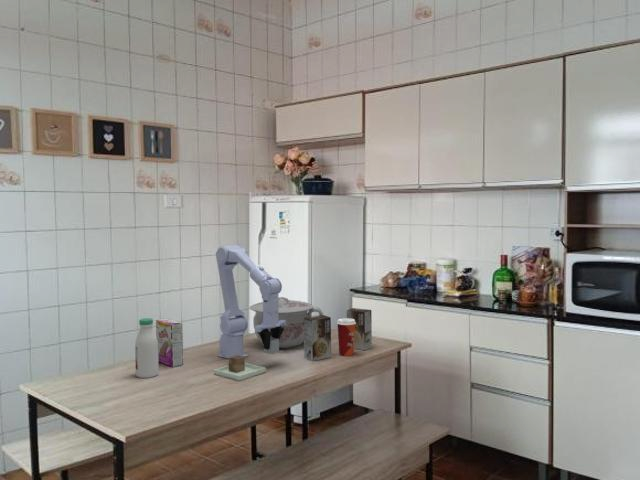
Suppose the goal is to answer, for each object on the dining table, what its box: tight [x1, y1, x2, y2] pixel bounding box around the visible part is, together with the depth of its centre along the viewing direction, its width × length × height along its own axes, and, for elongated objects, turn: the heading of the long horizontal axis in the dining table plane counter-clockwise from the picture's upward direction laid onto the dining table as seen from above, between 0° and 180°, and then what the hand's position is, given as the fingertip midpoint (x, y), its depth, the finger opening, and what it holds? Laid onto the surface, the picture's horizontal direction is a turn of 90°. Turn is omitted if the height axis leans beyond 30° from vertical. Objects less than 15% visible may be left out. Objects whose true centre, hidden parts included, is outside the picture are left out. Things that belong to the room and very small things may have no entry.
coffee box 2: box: [346, 307, 373, 351], centre depth 238 cm, size 9×6×16 cm
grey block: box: [263, 337, 280, 355], centre depth 210 cm, size 4×4×5 cm
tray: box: [213, 362, 267, 382], centre depth 202 cm, size 13×13×2 cm
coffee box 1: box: [303, 314, 332, 362], centre depth 222 cm, size 9×6×16 cm
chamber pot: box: [249, 296, 324, 349], centre depth 243 cm, size 28×28×21 cm
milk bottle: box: [134, 317, 160, 379], centre depth 200 cm, size 8×8×20 cm
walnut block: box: [228, 355, 246, 373], centre depth 204 cm, size 4×4×5 cm
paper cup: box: [336, 317, 356, 357], centre depth 227 cm, size 8×8×14 cm
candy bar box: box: [155, 318, 184, 368], centre depth 215 cm, size 11×5×16 cm, turn 47°
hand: (270, 347), depth 211 cm, fingers closed on grey block, 4 cm apart
